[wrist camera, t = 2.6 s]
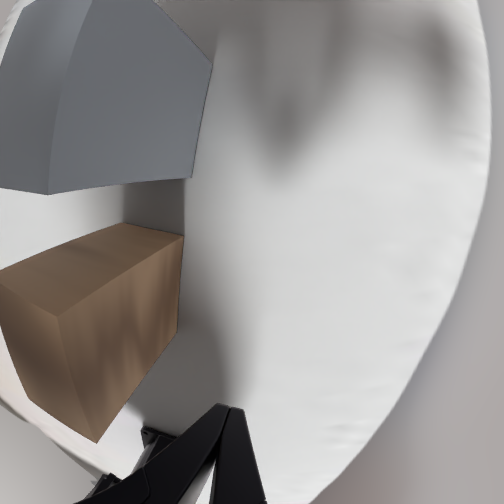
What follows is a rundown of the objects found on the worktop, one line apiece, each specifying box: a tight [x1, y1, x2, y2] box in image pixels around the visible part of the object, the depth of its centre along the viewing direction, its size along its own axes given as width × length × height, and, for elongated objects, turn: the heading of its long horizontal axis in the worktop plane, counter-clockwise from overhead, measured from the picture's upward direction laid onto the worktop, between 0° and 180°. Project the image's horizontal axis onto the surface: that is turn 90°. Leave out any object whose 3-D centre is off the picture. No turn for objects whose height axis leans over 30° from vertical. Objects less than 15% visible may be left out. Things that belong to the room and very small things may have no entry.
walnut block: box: [0, 223, 184, 444], centre depth 11 cm, size 6×4×9 cm, turn 170°
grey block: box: [0, 0, 213, 195], centre depth 8 cm, size 6×4×9 cm, turn 170°
